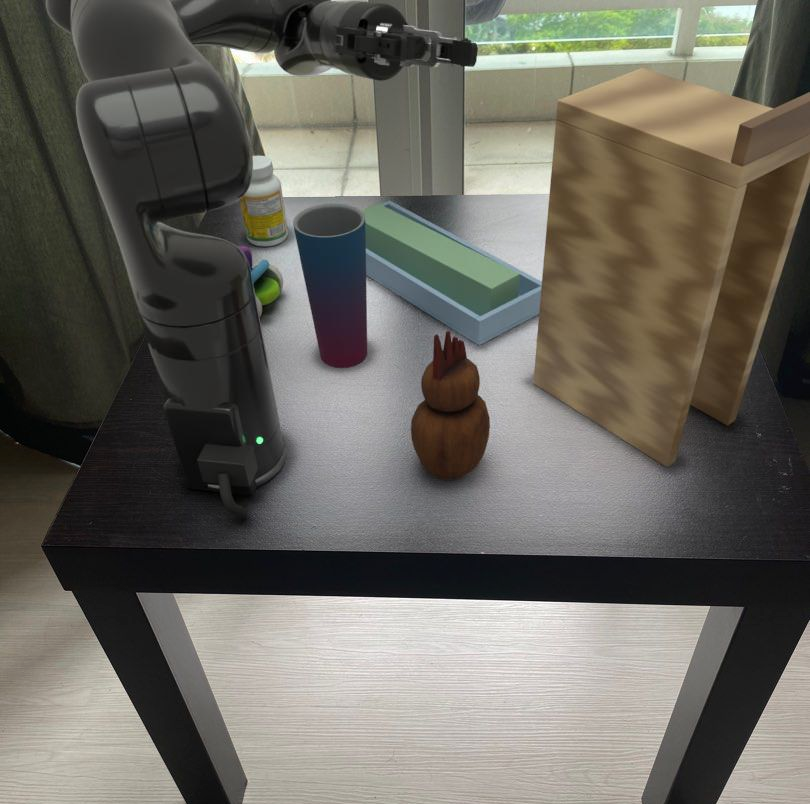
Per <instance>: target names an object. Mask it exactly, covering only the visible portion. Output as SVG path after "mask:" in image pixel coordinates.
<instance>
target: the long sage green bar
mask: <svg viewBox="0 0 810 804" xmlns="http://www.w3.org/2000/svg"><path fill="white" fill-rule="evenodd" d="M380 204H381V203H376V204H373V205H371V206H368V207H366V208H364V209H360V210H361V211H362V212H363V213H364V215H365V230H366V249H368V250H370V251H371V252H373V253H375V254H376V255H378V256H380V257H381V258H383V259H385V260H386V261H388V262H390V263H391V264H393V265H395V266H396V267H398V268H400V269H401V270H403V271H405V272H407V273H408V274H410V275H412V276H413V277H415V278H417V279H418V280H420V281H422V282H423V283H425V284H427V285H428V286H430V287H432V288H433V289H435V290H437V291H438V292H440V293H442V294H443V295H445V296H447V297H448V298H450V299H452V300H453V301H455V302H457V303H458V304H460V305H462V306H464V307H466V308H467V309H469V310H471V311H473V312H475V313H476V314H478V315H480V316H482V315H484V314H486V313H488V312H490V311H492V310H494V309H496V308H498V307H500V306H502V305H504V304H506V303H508V302H510V301H512V300H514V299H516V298H518V295H519V279H520V274H519V273H517V272H515V271H513V270H511V269H509V268H507V267H505V266H503V265H501V264H499V263H497V262H495V261H493V260H491V259H489V258H487V257H485V256H483V255H481V254H479V253H477V252H475V251H473V250H471V249H469V248H467V247H465V246H463V245H461V244H459V243H457V242H455V241H453V240H451V239H449V238H447V237H445V236H443V235H441V234H439V233H437V232H435V231H433V230H431V229H429V228H427V227H425V226H423V225H421V224H419V223H417V222H415V221H413V220H411V219H409V218H407V217H405V216H403V215H401V214H399V213H397V212H395V211H393V210H391V209H388V208H386V207H384V206H382V205H380Z"/></svg>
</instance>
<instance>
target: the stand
mask: <svg viewBox="0 0 810 804" xmlns="http://www.w3.org/2000/svg"><path fill="white" fill-rule="evenodd" d="M553 137H554V139H553V150H552V151H553V152H552V161H551V171H550V172H551V173H550V184H549V194H548V207H547V219H546V229H545V230H546V231H545V240H544V241H545V242H544V245H545V246H544V253H543V265H542V276H541V281H542V287H541V298H540V310H539V314H538V322H537V335H536V344H535V345H536V346H535V356H534V357H535V358H534V369H533V370H534V371H533V381H532V383H533V385H535V386H536V387H538V388H540V389H542V390H543V391H545V392H547V393H548V394H549V395H551V396H552V397H554V398H555V399H557V400H559V401H560V402H561V403H564V404H565V405H567V406H568V407H570V408H572V409H573V410H575V411H576V412H578V413H580V414H581V415H583V416H584V417H585V418H587V419H590V420H591V421H592V422H594V423H596V424H597V425H598V426H600V427H601V428H603V429H605V430H607V431H608V432H610V433H612V434H613V435H615V436H616V437H617V438H619V439H621V440H622V441H624V442H626V443H627V444H629V445H631V446H632V447H634V448H636V449H637V450H639V451H640V452H642V453H643V454H645V455H646V456H648V457H650V458H651V459H653V460H655V461H656V462H657V463H659V464H661V465H662V466H664V467H666V468H668V467H670V466H672V465H673V464H675V462H676V460H677V456H678V452H679V450H680V445H681V441H682V438H683V433H684V431H685V425H686V423H687V419H688V414H689V411H690V406H691V407H693V408H695V409H697V410H699V411H701V412H702V413H704V414H705V415H708V416H709V417H711V418H713V419H715V420H716V421H718V422H720V423H721V424H723V425H725V426H730V425H731V424H732V423H734V422H735V421H736V419H737V416H738V414H739V413H738V412H739V409H740V406H741V403H742V401H743V397H744V394H745V391H746V387H747V384H748V380H749V377H750V374H751V371H752V368H753V365H754V362H755V358H756V355H757V353H758V352H757V351H758V349H759V345H760V343H761V339H762V336H763V333H764V330H765V327H766V324H767V320H768V316H769V314H770V311H771V307H772V304H773V301H774V298H775V295H776V291H777V288H778V285H779V281H780V278H781V276H782V272H783V269H784V266H785V263H786V260H787V257H788V253H789V249H790V246H791V243H792V240H793V237H794V234H795V230H796V229H797V228H796V227H797V224H798V221H799V218H800V214H801V212H802V208H803V205H804V201H805V199H806V195H807V192H808V189H809V186H810V91H809V92H807V93H805V94H802V95H801V96H798V97H796V98H793V99H792V100H790V101H789V100H788V101H787V102H784V103H783V104H781V105H778V106H777V107H774V108H773V107H769V106H766V105H764V104H760V103H757V102H754V101H750V100H747V99H744V98H741V97H737V96H734V95H731V94H728V93H725V92H721V91H718V90H715V89H712V88H708V87H706V86H702V85H699V84H696V83H693V82H689V81H686V80H683V79H679V78H676V77H673V76H670V75H667V74H664V73H660V72H657V71H654V70H651V69H647V68H644V67H640V68H638V69H635V70H633V71H631V72H628V73H625V74H622V75H620V76H617V77H614V78H612V79H610V80H607V81H603V82H601V83H598V84H596V85H593V86H591V87H588V88H586V89H582V90H581V91H578V92H575V93H573V94H570V95H568V96H565V97H562V98H560V99H558V100H557V104H556V117H555V127H554V136H553Z"/></svg>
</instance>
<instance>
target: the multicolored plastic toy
mask: <svg viewBox="0 0 810 804" xmlns="http://www.w3.org/2000/svg"><path fill="white" fill-rule="evenodd" d="M237 247H238V248H240V249H241V250H242V252H243V253H244V254H245V256H246V258H247V260H248V262H249V265H250V269H251V274H252V280H253V285H254V290H255V295H256V301H257V306H258V311H259V316H260V317H261V316H262V313H263V306H265V305H268V304H271V303H272V302H274V301H275V300H277V299H278V297H279V296H280V294H281V292H282V290H283V287H284V278H283V275H282V272H281V271H280V270H279V268H278V267H276V266H275V265H273V264H271V263H270V262H269V261H268V260H267V259H262V260H260V262H259V263H258V264H255V265H254V266H253V255H252V251H251V250H250V249H249V248H248V247H247V246H245V245H239V246H238V245H237Z"/></svg>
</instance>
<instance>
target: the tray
mask: <svg viewBox="0 0 810 804" xmlns="http://www.w3.org/2000/svg"><path fill="white" fill-rule="evenodd" d="M379 204H380V205H382V206H384V207H386V208H388V209H391V210H393V211H395V212H397V213H399V214H401V215H403V216H405V217H407V218H409V219H411V220H413V221H415V222H417V223H419V224H421V225H423V226H425V227H427V228H429V229H431V230H433V231H435V232H437V233H439V234H441V235H443V236H445V237H447V238H449V239H451V240H453V241H455V242H457V243H459V244H461V245H463V246H465V247H467V248H469V249H471V250H473V251H475V252H477V253H479V254H481V255H483V256H485V257H487V258H489V259H491V260H493V261H495V262H497V263H499V264H501V265H503V266H505V267H507V268H509V269H511V270H513V271H515V272H517V273H519V274H520V279H519V295H518V298H516V299H514V300H512V301H510V302H508V303H506V304H504V305H502V306H500V307H498V308H496V309H494V310H492V311H490V312H488V313H486V314H484V315H482V316H480V315H478V314H476V313H475V312H473V311H471V310H469V309H467V308H466V307H464V306H462V305H460V304H458V303H457V302H455V301H453V300H452V299H450V298H448V297H447V296H445V295H443V294H442V293H440V292H438V291H437V290H435V289H433V288H432V287H430V286H428V285H427V284H425V283H423V282H422V281H420V280H418V279H417V278H415V277H413V276H412V275H410V274H408V273H407V272H405V271H403V270H401V269H400V268H398V267H396V266H395V265H393V264H391V263H390V262H388V261H386V260H385V259H383V258H381V257H380V256H378V255H376V254H375V253H373V252H371V251H370V250H368V249H366V277H369V278H370V279H371V280H373V281H375V282H376V283H378V284H380V285H381V286H383V287H385V288H386V289H387V290H390V291H391V292H393V293H394V294H396V295H397V296H399V297H401V298H402V299H404V300H405V301H407V302H409V303H410V304H412V305H414V306H415V307H416V308H418V309H420V311H421V310H422V311H423V312H425V314H428V315H430V316H431V317H432V318H434V319H436V320H438V321H439V322H441V323H442V324H443V325H445V326H447V327H449V328H450V329H452V330H453V331H455V332H457V333H458V334H460V335H461V336H463V337H465V338H466V339H468V340H469V341H471V342H473V343H474V344H476V345H477V346H481V345H483V344H485V343H487V342H489V341H491V340H492V339H494V338H496V337H498V336H501V335H502V334H504V333H505V332H508V331H510V330H511V329H514V328H515V327H518V326H520V325H521V324H524V323H525V322H526V321H529V320H530V319H533V318H534V317H536V316H539V310H540V298H541V287H542V280H540V279H538V278H536V277H534V276H532V275H531V274H528V273H527V272H524V271H523V270H521V269H519V268H517V267H516V266H513V265H511V264H510V263H508V262H506V261H504V260H502V259H500V258H499V257H497V256H495V255H493V254H491V253H490V252H488V251H485V250H483V249H482V248H480V247H478V246H476V245H474V244H473V243H471V242H469V241H467V240H465V239H463V238H461V237H459V236H457V235H456V234H453V233H451V232H449V231H448V230H446V229H444V228H442V227H440V226H438V225H437V224H435V223H433V222H431V221H429V220H427V219H425V218H423V217H421V216H419V215H418V214H416V213H414V212H412V211H410V210H408V209H407V208H405V207H402V206H401V205H399V204H397V203H396V202H393V201H391V200H387V201H384V202H381V203H379Z"/></svg>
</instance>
